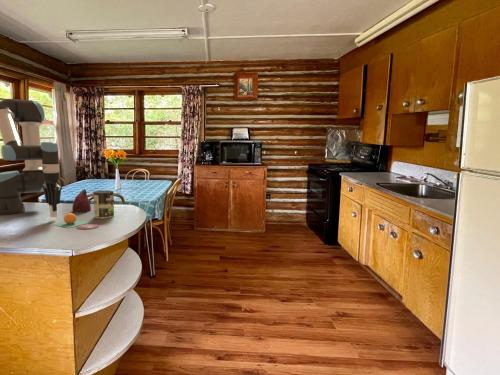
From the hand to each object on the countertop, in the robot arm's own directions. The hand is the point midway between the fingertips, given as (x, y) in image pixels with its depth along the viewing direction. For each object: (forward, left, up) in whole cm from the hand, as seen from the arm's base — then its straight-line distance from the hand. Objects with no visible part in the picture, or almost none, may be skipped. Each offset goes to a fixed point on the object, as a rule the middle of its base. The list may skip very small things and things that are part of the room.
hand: (53, 217), depth 175 cm
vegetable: (-10, +24, -2) cm, 26 cm away
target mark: (+14, 0, -2) cm, 14 cm away
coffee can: (+14, +20, -2) cm, 25 cm away
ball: (+13, 0, +1) cm, 13 cm away
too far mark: (+26, 0, -2) cm, 26 cm away
